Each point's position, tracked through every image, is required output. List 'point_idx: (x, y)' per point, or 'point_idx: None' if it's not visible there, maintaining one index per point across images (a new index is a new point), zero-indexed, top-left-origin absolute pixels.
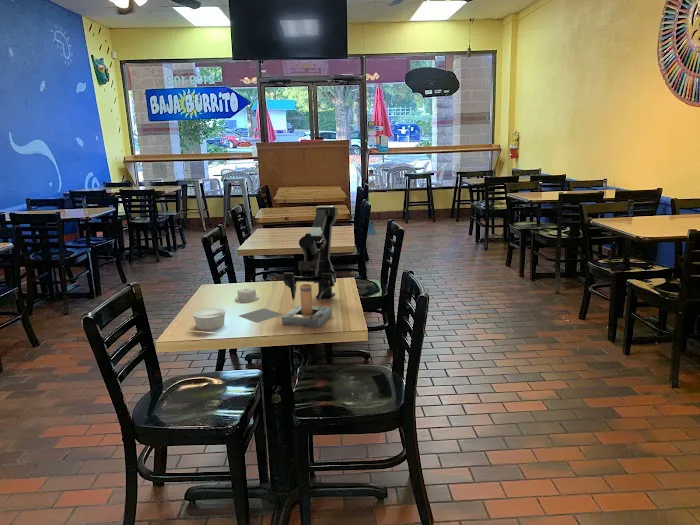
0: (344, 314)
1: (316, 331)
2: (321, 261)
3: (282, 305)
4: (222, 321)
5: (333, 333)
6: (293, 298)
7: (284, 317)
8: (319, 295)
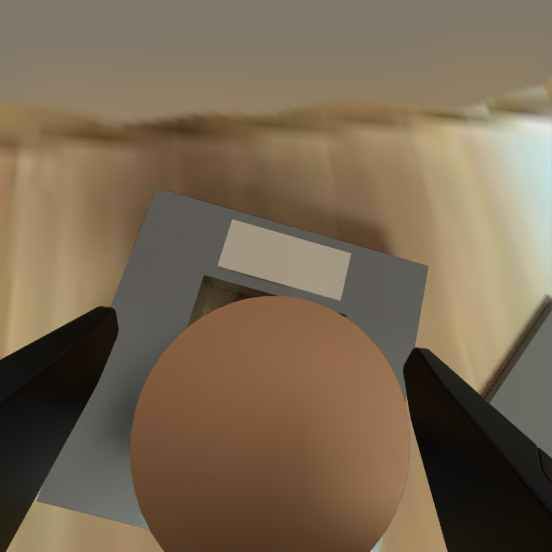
0: None
1: (181, 157)
2: None
3: None
4: None
5: (80, 119)
6: (415, 353)
7: (405, 260)
8: (55, 332)
